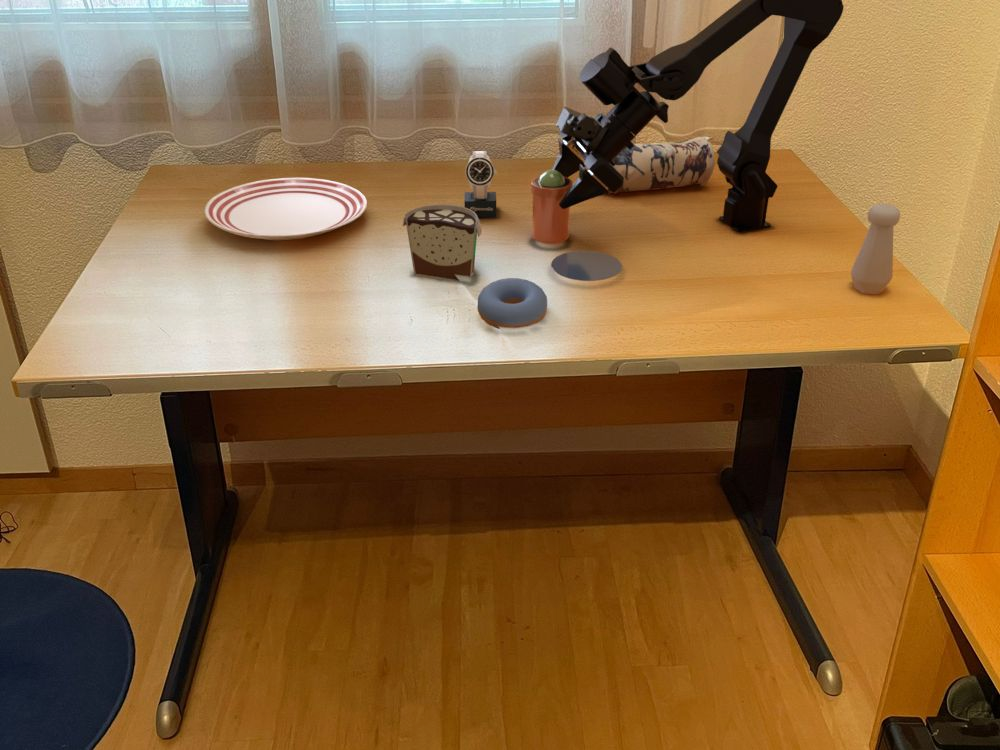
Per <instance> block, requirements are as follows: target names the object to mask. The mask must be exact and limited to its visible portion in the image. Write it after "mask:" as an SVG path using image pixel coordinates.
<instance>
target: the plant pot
mask: <svg viewBox="0 0 1000 750" xmlns="http://www.w3.org/2000/svg"><path fill="white" fill-rule="evenodd" d="M572 185H573V180H572V179H571V178H570V177H568V178H567V177H564V176H563V175H562V174H561V173H560V172H559V171H557V170H552V169H547V170H545V171H544V172H542V173H541V174H540V175H539V176H536V177H533V178H532V179H531V181H530V192H531V193H532V222H531V223H532V225H531V226H532V228H531V229H532V230H531V231H532V232H531V234H532V238H533V240H534V241H537V242H539V243H543V244H559V243H563V242H565V241H567V240H568V239H569V238H570V211H571V210H570V209H571V207H568V208H565V209H562V208H561V207H560V206H559V203H560V202H561V200H562V199H563V197H564V196H565V195H566V193H567V192H568V191H569V189H570V188H571V187H572Z"/></svg>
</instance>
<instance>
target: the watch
mask: <svg viewBox="0 0 1000 750" xmlns="http://www.w3.org/2000/svg"><path fill="white" fill-rule="evenodd" d="M497 174H498V171H497V169H495V166H494V164H493V163H492V161H491V158H490V155H487V151H486V150H474V151H472V155H470V157H469V159H468V163H466V166H465V177H466V179H467V182H468V184H469V187H470V190H471V191H465V192H464V207H465V208H468V209H470V210H472V211H473V212H475V213H476V215H477V217H478V219H497V191H488V190H490V189H491V185H492V183H493V179H494V177H495V175H497ZM472 190H473V191H472Z"/></svg>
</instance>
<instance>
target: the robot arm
mask: <svg viewBox="0 0 1000 750" xmlns="http://www.w3.org/2000/svg"><path fill="white" fill-rule="evenodd" d="M844 8H845V7H844V3H843V0H739V1H737V3H735V4H734V5H733V6H732V7H730V8H729V9H728V10H726V11H725V12H724V13H722V14H721V15H720V16H718V18H716V19H715V20H714V21H712V22H711V23H710V24H708V25H707V26H706V27H705V28H703V29H702V30H700V32H698V33H697V34H696V35H694V36H693V37H692V38H690V39H689V40H687V41H685V42H683V43H679V44H676V45H673V46H671V47H668V48H667V49H665V50H663V51H661V52H659V53H658V54H656V55H654V56H652V57H651V58H650V59H649V60H648V61H647V62H642V63H639V64H638V63H637V64H633V65H632V64H631V65H628V64H627V63H626V62H625V61H624V59H623V58H622V56H621V55H620V54H619V52H618V51H617V50H616V49H615V48H613V47H612V46H610V47H608V49H607V50H606V51H605V52H601V53H598V54H597V55H596V56H595V57H593V58H590V59H589V60H588V61H587V62H586V64H585V65H584V66H583V68H582V69H581V71H580V73H579V76H578V77H579V78H578V79H579V81H580V82H581V83H582V85H584V87H585V88H586V89H588V90H589V91H590V92H591V93H592V95H594V96H595V98H596V99H597V100H598V101H600V103H601V104H602V105H603V106H610V105H613V107H612V108H610V111H608V112H607V113H606V114H605V115H604V113H603V112H601V113H597V114H596V116H594V117H593V115H587V114H586V113H585V112H583V113H581V112H580V111H577V110H576V109H575V110H574V109H573V108H569V107H567V106H563V108H562V111H561V112H560V114H559V116H558V119H557V121H556V124H555V126H556V127H557V128H559V131H558V135H559V137H560V138H561V139H560V138H558V139H557V142H558V149H559V152H558V155H557V158H556V160H555V162H554V163H553V166H552V167H551V170H557V171H559V172H560V173H561V174H562V175H563V176H564V177H567V178H570V177H571V176H573V175H575V174H576V173H578V177H577V179H576V180H575V181H574V183H572V187H571V188H570V189H569V191H568V192H567V193H566V195H565V196H564V197H563V199H562V200H561V202H560V203H559V206H560V207H561V208H562V209H565V208H568V207H570V208H571V207H574V206H575V205H578V204H580V203H583V202H586V201H588V200H589V201H590V200H591V199H595V198H598V197H600V196H604V195H606V196H608V195H610V194H611V193H610V192H609V191H608V190H607V189H608V188H609V189H610V190H611V191H612V192H613V193H612V194H614V195H616V194H617V193H619V192H618V191H619V189H620V188H621V187H622V186H623V184H624V177H623V176H622V175H621V174H620V173H619V172H618V171H617V170H616V169H615V168H614V166H615V165H616V164H615V163H614V162H613V160H614V158H615V157H616V156H617V155H618V154H619V153H620V152H621V151H622V150H623V149H624V148H625V147H627V148H628V149H629V150H630V149H631V148H632V147H633V146H634V144H635V143H633V142H632V141H633V140H634V139H635V138H636V137H637V136H638V135H639V134H640V133H641V131H643V130H644V128H645V127H646V126H647V125H648V124H649V123H650V122H651V121H652V120H653V119H654V118H655V117H657V119H659V120H660V121H661V122H663V123H664V124H667V123H668V122H669V113H668V112H669V106H670V105H669V104H668V103H666V102H665V101H658V100H657V99H656V98H655V97H654V95H652V93H655V94H656V95H658V96H659V97H660V98H662V99H664V100H667V101H672V102H673V101H677V100H679V99H681V98H683V97H684V96H685V95H686V94H687V93H688V92H689V91H690V90H691V89H692V88H693V86H695V85H696V84H697V83H698V81H699V80H700V78H701V77H702V75H703V73H704V71H705V70H706V68H707V67H708V66H709V65H710V64H711V63H712V62H713V61H715V60H716V59H717V58H719V57H720V56H721V55H722V54H724V53H725V52H726V51H727V50H729V49H730V48H732V46H734V45H735V44H737V43H738V42H739V41H740V40H742V39H743V38H745V37H746V36H747V35H748V34H749V33H750V32H752V31H754V30H755V29H756V28H757V27H758V26H760V25H761V24H763V22H765V21H766V20H767V19H769V18H770V17H772V16H778V17H783V18H784V19H783V38H782V42H781V44H780V45H779V48H778V50H777V52H776V55H775V57H774V59H773V61H772V62H771V65H770V68H769V70H768V72H767V74H766V77H765V78H764V80H763V82H762V85H761V87H760V89H759V91H758V94H757V96H756V98H755V100H754V103H753V104H752V107H751V108H750V111H749V113H748V116H747V118H746V119H745V121H744V123H743V125H742V126H741V127H740V128H739V129H738V130H736V131H735V132H732V131H731V130H727V131H726V133H725V134H724V138H723V140H722V144H721V145H720V147H719V148H718V149H717V150H716V154H717V155H718V157H717V160H716V164H717V166H718V169H719V171H720V172H721V174H722V175H724V178H725V181H726V183H728V184H729V185H731V186H732V187H730V188H728V189H727V197H726V198H725V199H724V206H723V212H722V213H723V214H722V215H721V216H719V217H718V220H719V221H720V222H721V223H723V224H724V225H727V226H728V227H729V228H731V229H732V230H734V231H736V232H737V233H746V232H747V233H748V232H751V231H758V230H763V229H768V228H771V225H772V224H771V223H770V222H768V221H767V220H766V219H767V213H768V206H769V198H773V197H774V195H775V194H776V191H777V190H778V184H777V183H776V181H774V180H773V179H772V177H770V175H768V172H767V170H768V166H769V162H770V159H771V147H772V138H773V137H772V136H773V134H774V131H776V130H775V129H776V128H777V125H778V123H779V121H780V119H781V118H782V116H783V113H784V111H785V109H786V107H787V104H788V103H789V101H790V98H791V97H792V94H793V92H794V91H795V88H796V86H797V84H798V81H799V79H800V78H801V75H802V73H803V71H804V69H805V67H806V65H807V63H808V61H809V59H810V57H811V55H812V53H813V51H814V50H815V49H816V48H817V47H818V46H820V45H821V44H822V43H823V42H824V41H825V40H826V39H827V38H829V36H830V34H831V33H832V32H833V30H834V29H835V27H836V25H837V24H838V23H839V21H840V20H841V17H842V16H843V12H844ZM636 84H637V85H638V86H639V87H641V88H642V89H643V90H642V91H640V90H638V89H637V88H636V87H635V85H636ZM582 158H583V160H582Z"/></svg>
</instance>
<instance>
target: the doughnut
mask: <svg viewBox="0 0 1000 750" xmlns="http://www.w3.org/2000/svg"><path fill="white" fill-rule="evenodd" d="M476 309H477V312H478V314H479V317H480V318H481V320H482V321H484V322H485V323H486V324H487V325H489V326H491V327H493V328H495V329H496V330H497V329H498V330H501V327H503V328H523V327H527V326H531V325H534V324H537V323H538V322H539V321H541V320H542V319H543V318H544V317H545V315H546V313H547V310H548V297H547V295H546V293H545V291H544V290H543V288H542V287H540V286H539V285H538V284H537V283H535V282H534V281H531V280H528V279H524V278H519V277H506V278H501V279H497V280H495V281H492V282H490V283H488V284H487V285H486V286H485V287H483V288H482V290H481V291H480V292H479V294H478V296H477V307H476Z"/></svg>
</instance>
